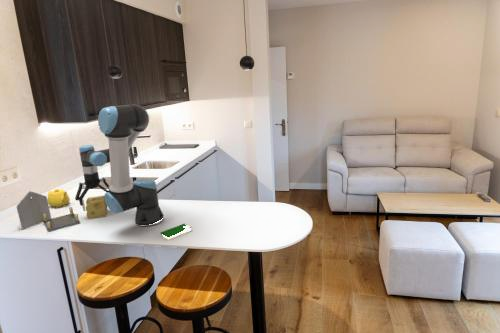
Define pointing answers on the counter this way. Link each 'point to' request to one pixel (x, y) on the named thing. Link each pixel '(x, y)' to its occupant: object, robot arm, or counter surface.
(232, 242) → the counter surface
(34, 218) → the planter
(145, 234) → the counter surface
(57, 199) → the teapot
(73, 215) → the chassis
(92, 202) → the cheese
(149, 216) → the robot arm
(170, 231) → the dish sponge
